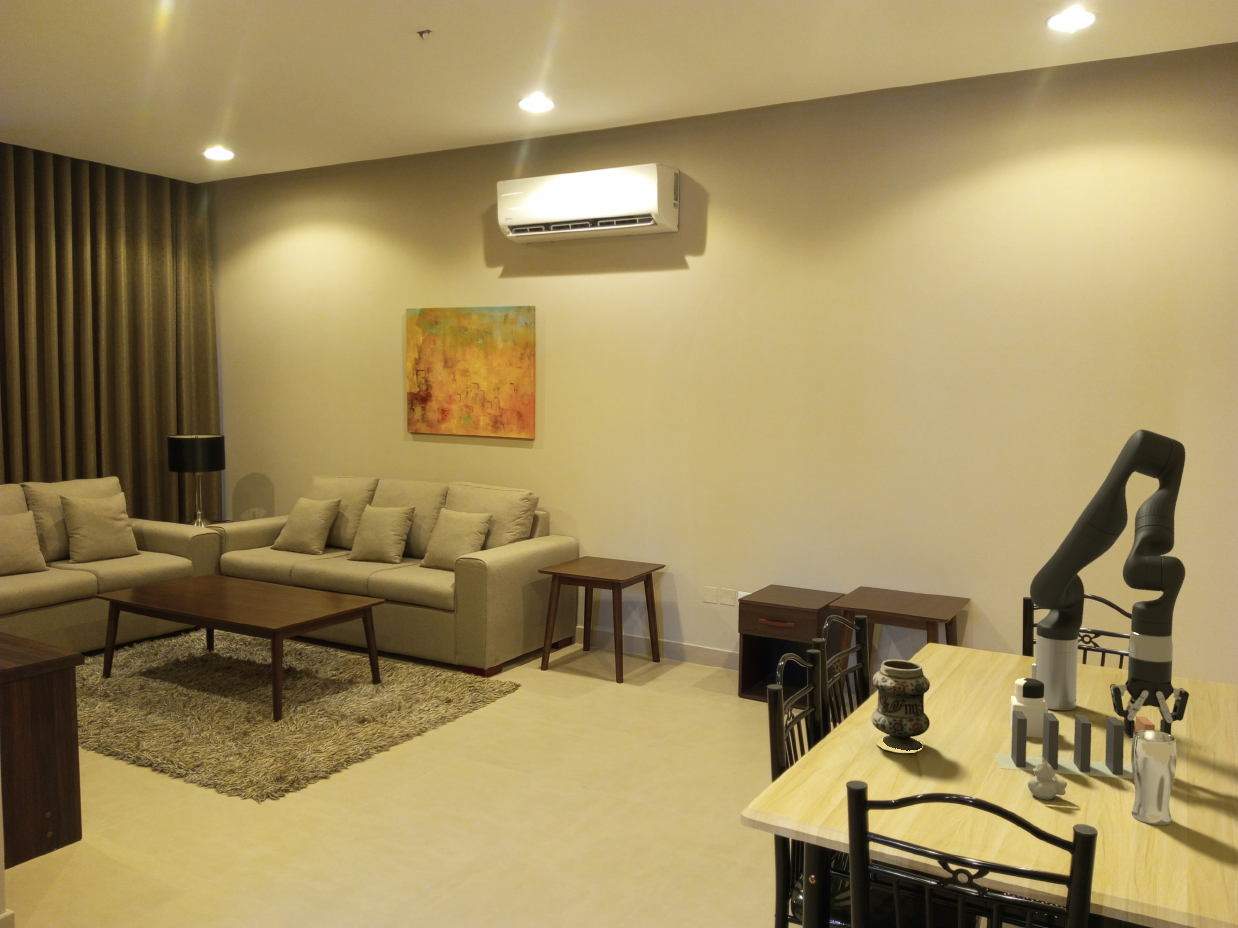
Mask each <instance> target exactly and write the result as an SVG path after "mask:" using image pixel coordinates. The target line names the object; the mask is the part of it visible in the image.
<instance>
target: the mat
mask: <svg viewBox="0 0 1238 928" xmlns="http://www.w3.org/2000/svg"><path fill="white" fill-rule="evenodd" d="M993 756H995V759H996V760H997V763H998V764H999V767H1000V769H1003V770H1014V771H1027V772H1028V771H1029V772H1034V771H1033V769H1034V768H1036V767H1037V765H1038V763H1039V762H1041V761H1042V756H1041V757H1040V756H1039V757H1038V756H1029V755H1026V768H1025V767H1016V766H1015V764H1014V762H1013V760H1012V758H1011V754H1000V753H994V754H993ZM1054 773H1055V774H1065V775H1066V774H1067V775H1079V776H1091V777H1092V776H1093V777H1103V778H1104V777H1105V778H1114V779H1115V778H1116V779H1127V780H1128V779H1129V780H1130V779H1132V780H1134V779H1133V773H1132V765H1131V763H1123V775H1115V774H1112V773H1111V771H1110V770H1109V769H1108V767H1107V766H1106V765H1105V761H1093V760H1090V773H1089V772H1080V771H1079V769H1078V768H1077V766H1076V765H1075V764H1074V759H1069V758H1068V759H1067V758H1058V770H1054ZM1173 783H1177V781H1176V780H1175V779H1174V781H1173Z"/></svg>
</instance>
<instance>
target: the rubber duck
mask: <svg viewBox="0 0 1238 928" xmlns="http://www.w3.org/2000/svg"><path fill="white" fill-rule="evenodd" d="M1041 757H1042V761H1041V762H1039V763H1038V765H1037V767H1036V768H1034V769H1033V771H1032V772H1033V773H1034V776H1033V777H1032V778H1030V779H1029V780H1028V782H1027V788H1028V790H1029V792H1030V793H1031V794H1032V795H1033V796H1034V797H1036V798H1038V799H1040V800H1047V801H1048V800H1051V799H1053V798H1055V797H1056V796H1057V795H1058V796H1064V795H1065V794H1066V788H1067V786H1068V784H1067V781H1065V780H1062V779H1054V778H1055V775H1056V773H1054V770H1053V768H1052V767H1051V765H1050V764H1049V763H1048V762H1047V761H1046V760H1045V759H1044V757H1043V756H1042V755H1041Z"/></svg>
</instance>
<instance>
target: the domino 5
mask: <svg viewBox="0 0 1238 928" xmlns="http://www.w3.org/2000/svg"><path fill="white" fill-rule="evenodd" d="M1141 729H1148V730H1155V729H1156V724H1155V723H1153V722H1152V721H1151V720H1150V719H1149V718H1147V717H1146V716H1142V715H1141V716H1139V715H1135V726H1134V731H1136V730H1141Z"/></svg>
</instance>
